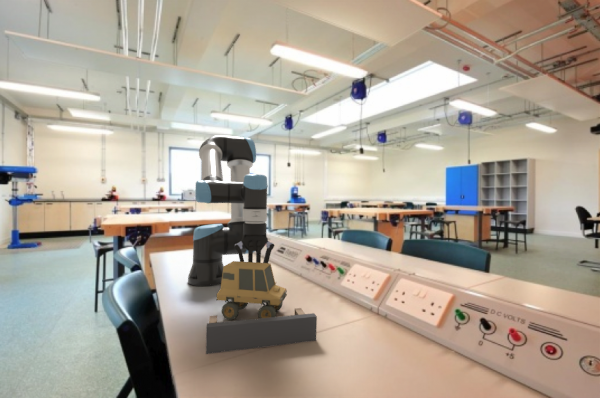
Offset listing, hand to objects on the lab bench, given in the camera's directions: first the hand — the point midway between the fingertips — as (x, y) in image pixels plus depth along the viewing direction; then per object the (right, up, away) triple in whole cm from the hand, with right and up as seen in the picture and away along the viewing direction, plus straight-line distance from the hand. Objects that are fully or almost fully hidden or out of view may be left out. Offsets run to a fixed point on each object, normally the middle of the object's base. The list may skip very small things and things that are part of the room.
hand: (253, 295), depth 90 cm
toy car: (+1, -4, -7) cm, 8 cm away
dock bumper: (+6, -4, -24) cm, 25 cm away
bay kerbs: (+4, -4, -17) cm, 17 cm away
